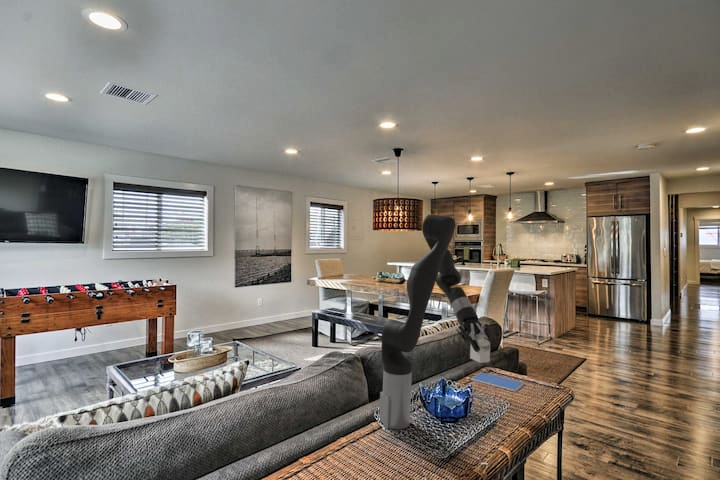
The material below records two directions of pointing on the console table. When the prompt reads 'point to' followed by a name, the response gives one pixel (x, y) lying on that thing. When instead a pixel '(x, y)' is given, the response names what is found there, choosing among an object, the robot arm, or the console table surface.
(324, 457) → the console table surface
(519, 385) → the tablet computer
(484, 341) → the cylinder
